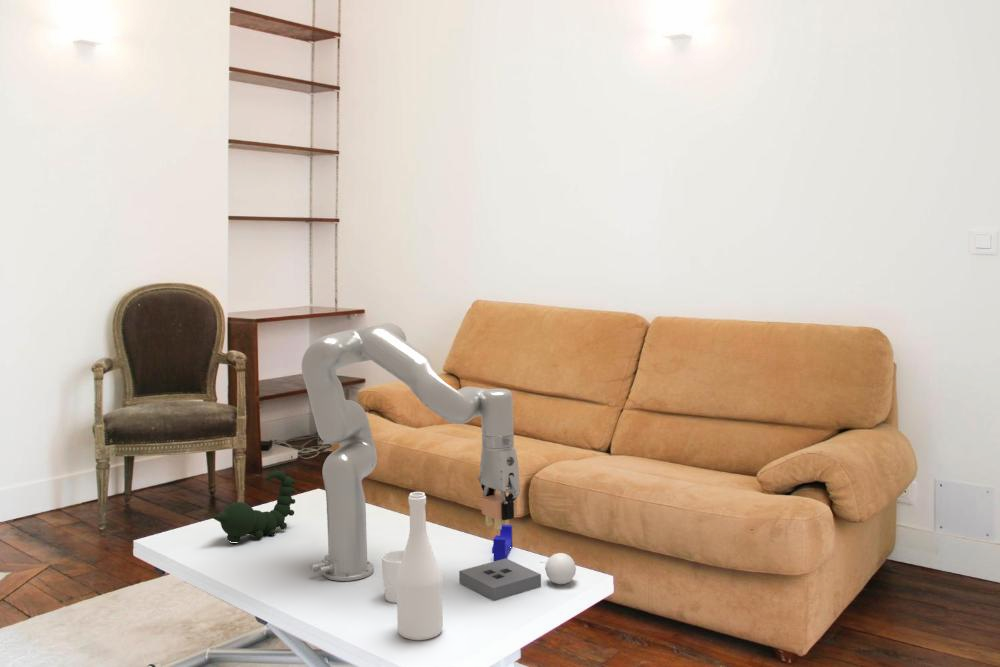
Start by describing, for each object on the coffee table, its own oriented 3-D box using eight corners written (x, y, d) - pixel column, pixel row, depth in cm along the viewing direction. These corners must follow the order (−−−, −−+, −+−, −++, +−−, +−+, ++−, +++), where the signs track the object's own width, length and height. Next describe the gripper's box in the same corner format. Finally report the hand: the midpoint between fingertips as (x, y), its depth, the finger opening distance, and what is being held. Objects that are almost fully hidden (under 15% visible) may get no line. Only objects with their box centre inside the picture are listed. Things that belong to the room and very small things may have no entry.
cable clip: (496, 546, 248) (495, 524, 247) (512, 546, 247) (512, 525, 247) (488, 561, 236) (487, 539, 236) (505, 562, 236) (504, 539, 235)
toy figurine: (281, 530, 269) (202, 543, 251) (283, 466, 268) (205, 475, 250) (299, 537, 263) (220, 551, 244) (302, 471, 262) (223, 481, 244)
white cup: (402, 607, 207) (401, 564, 206) (375, 600, 212) (374, 558, 211) (423, 595, 214) (422, 553, 213) (397, 588, 218) (395, 548, 217)
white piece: (582, 583, 220) (582, 554, 219) (559, 591, 215) (559, 561, 214) (554, 572, 228) (554, 543, 227) (531, 579, 223) (531, 550, 222)
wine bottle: (445, 622, 199) (442, 487, 195) (440, 642, 189) (437, 500, 186) (401, 622, 199) (398, 487, 196) (394, 641, 190) (390, 500, 186)
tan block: (496, 531, 214) (496, 502, 213) (482, 525, 219) (481, 497, 218) (517, 526, 218) (516, 498, 217) (502, 520, 223) (501, 492, 222)
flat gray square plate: (493, 600, 210) (493, 588, 210) (459, 582, 221) (459, 570, 221) (541, 586, 218) (540, 574, 218) (505, 569, 230) (505, 558, 229)
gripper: (533, 445, 212) (534, 521, 213) (489, 433, 225) (491, 504, 227) (506, 450, 207) (508, 527, 209) (464, 437, 221) (466, 510, 223)
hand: (499, 515), depth 218 cm, fingers closed on tan block, 6 cm apart
